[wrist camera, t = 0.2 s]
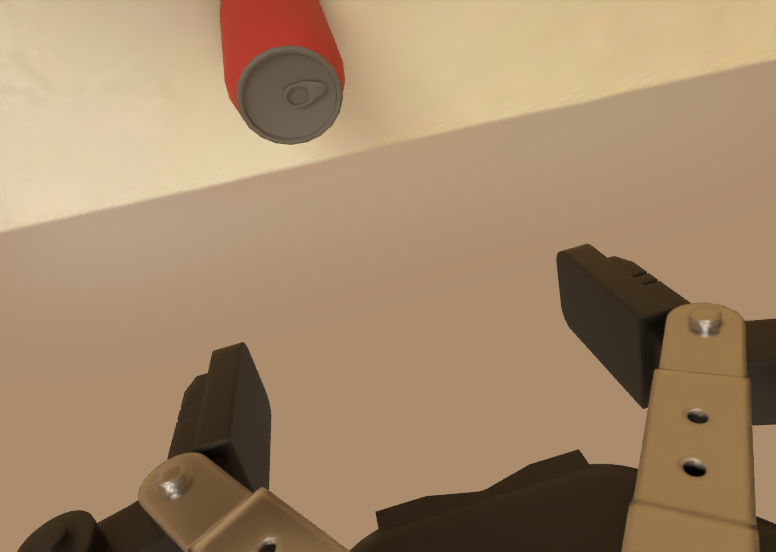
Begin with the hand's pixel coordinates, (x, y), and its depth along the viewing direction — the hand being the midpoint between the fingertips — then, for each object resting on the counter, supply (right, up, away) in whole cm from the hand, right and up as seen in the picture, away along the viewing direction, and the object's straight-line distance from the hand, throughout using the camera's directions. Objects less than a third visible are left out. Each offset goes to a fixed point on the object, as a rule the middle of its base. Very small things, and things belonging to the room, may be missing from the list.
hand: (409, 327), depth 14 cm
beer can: (-8, +19, +24) cm, 32 cm away
